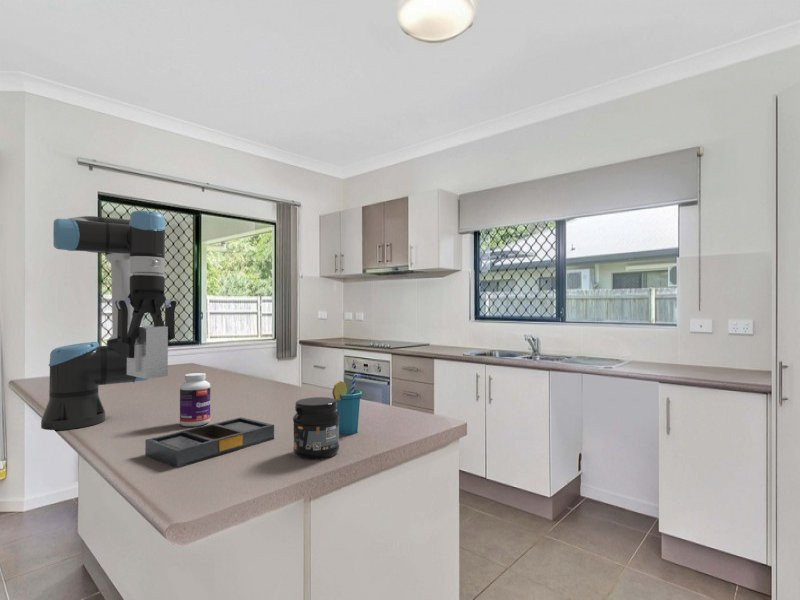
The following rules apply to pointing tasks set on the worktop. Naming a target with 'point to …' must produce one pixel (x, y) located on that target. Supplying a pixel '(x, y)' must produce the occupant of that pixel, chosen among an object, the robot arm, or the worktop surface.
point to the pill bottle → (195, 400)
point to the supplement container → (316, 428)
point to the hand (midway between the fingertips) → (146, 369)
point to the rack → (207, 441)
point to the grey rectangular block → (151, 352)
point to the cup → (347, 406)
